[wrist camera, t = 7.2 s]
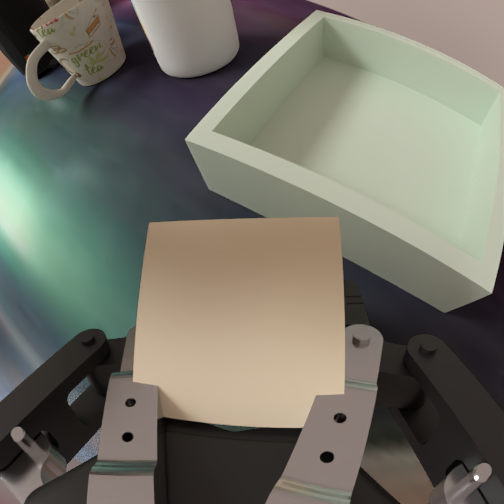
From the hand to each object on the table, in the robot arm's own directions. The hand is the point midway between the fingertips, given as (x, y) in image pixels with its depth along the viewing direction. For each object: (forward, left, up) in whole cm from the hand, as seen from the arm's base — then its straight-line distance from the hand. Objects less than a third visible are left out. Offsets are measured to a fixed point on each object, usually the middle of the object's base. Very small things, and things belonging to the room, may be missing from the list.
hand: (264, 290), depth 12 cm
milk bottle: (+16, +17, -4) cm, 24 cm away
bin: (+12, -1, -4) cm, 13 cm away
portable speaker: (+12, +44, -4) cm, 46 cm away
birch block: (-2, -1, -4) cm, 5 cm away
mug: (+10, +28, -4) cm, 30 cm away
